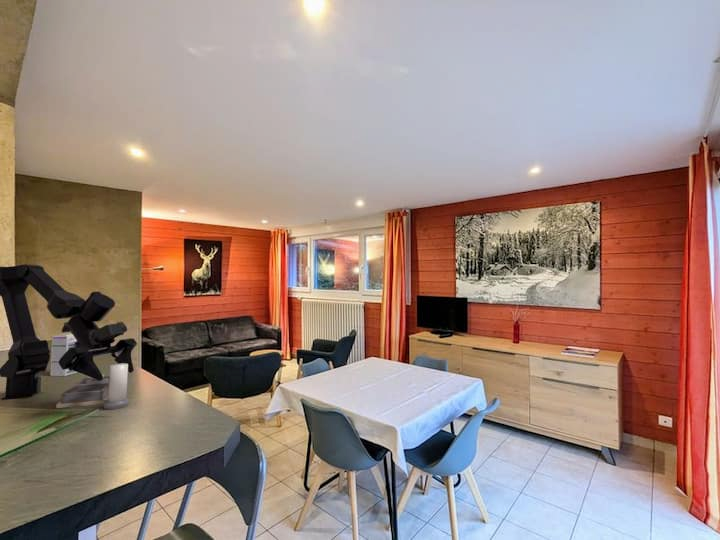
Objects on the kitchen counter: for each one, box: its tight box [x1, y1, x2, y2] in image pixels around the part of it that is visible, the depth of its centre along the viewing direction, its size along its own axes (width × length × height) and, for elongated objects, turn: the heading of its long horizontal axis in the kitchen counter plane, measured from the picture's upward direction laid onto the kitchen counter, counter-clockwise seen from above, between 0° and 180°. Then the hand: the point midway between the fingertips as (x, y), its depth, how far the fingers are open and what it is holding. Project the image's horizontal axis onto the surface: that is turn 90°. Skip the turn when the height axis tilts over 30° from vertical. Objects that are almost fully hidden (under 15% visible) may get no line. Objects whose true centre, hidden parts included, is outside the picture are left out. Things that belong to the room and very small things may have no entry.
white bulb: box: [103, 363, 131, 411], centre depth 94 cm, size 6×6×11 cm
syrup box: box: [50, 332, 79, 377], centre depth 125 cm, size 6×6×14 cm
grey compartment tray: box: [55, 373, 110, 409], centre depth 102 cm, size 11×18×5 cm, turn 24°
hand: (117, 375), depth 94 cm, fingers open, 9 cm apart
